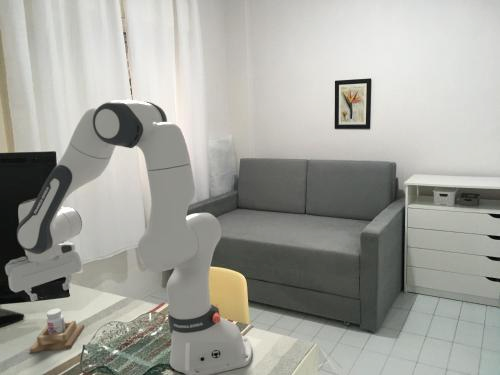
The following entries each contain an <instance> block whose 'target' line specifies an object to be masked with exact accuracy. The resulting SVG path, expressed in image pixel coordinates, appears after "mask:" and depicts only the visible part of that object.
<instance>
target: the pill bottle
mask: <svg viewBox="0 0 500 375" xmlns="http://www.w3.org/2000/svg"><path fill="white" fill-rule="evenodd" d="M46 317H47V318H46V326H48V331H49V335H52V334H62V333H64V332H65V330H66V328H65V323H64V322H65V316H64V314H63V313H62V309H61V308H58V307H57V308H52V309H49V310H48V311H46Z"/></svg>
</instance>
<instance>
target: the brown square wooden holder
mask: <svg viewBox="0 0 500 375" xmlns="http://www.w3.org/2000/svg"><path fill="white" fill-rule="evenodd" d="M64 323H65V328H66V330H65V332H64V333H62V334H52V335H49V331H48V326H47V325H46V326H45V327H44V329H42V330H41V332H40V333H39V334H38V335H37V337H36V339H37V340H36V341H35V342H34V343H33V344H32V346H31V347H30V348H29V353H36V352H44V351H45V352H47V351H54V350H63V349H71V348H72V347H73V346H74V344H75V343H76V341H77V340H78V338H79V336H80V335H81V334H82V332H83V330H84V329H85V324H77V322H76V320H69V321H64Z"/></svg>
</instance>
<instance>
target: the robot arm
mask: <svg viewBox="0 0 500 375" xmlns="http://www.w3.org/2000/svg"><path fill="white" fill-rule="evenodd" d="M116 146H118V147H123V148H126V149H127V148H129V149H133V148H134V147H137V148H139V149H140V150H141V152H142V154H143V156H144V161H145V167H146V173H147V177H148V178H147V179H148V184H149V192H150V198H151V199H150V202H151V203H150V204H151V207H150V212H149V213H150V214H149V219H148V222H147V225H146V228H145V230H144V232H143V234H142V236H141V237H140V238H139V240H138V243H137V256H138V259H139V262H140V263H141V264H142V266H143V267H144V268H146V269H147V271H148V270H149V272H152V273H160V272H161V273H162V272H165V271H169V270H173V271H172V273H171V275H170V276H169V278H168V281H167V283H166V287H165V288H166V297H167V303H168V304H167V305H168V313H167V322H168V323H167V324H168V328H169V333H170V335H171V344H170V345H171V346H170V347H171V349H170V356H169V365H170V367H171V368H172V369H174V370H175V371H178V372H179V373H181V374H182V373H183V374H184V375H214V374H215V375H216V374H218V373H223V372H226V371H231V370H232V371H233V370H236V369H239V368H244V367H247V366H248V365H249V363H250V362H251V360H252V356H253V350H252V344H251V342H250V340H249V339H248V338H247V337H246V336H245V335H242V333H241V331H240V328H239V327H238V325H237V324H236V323H234V322H233V321H230V320H228V319H226V318H223V317H222V316H221V314H220V308H218V306H219V305H218V304H217V303H216V304H215V305H213V303H211V298H210V297H211V295H210V282H209V281H210V280H209V278H210V270H211V266H212V265H211V264H212V260H213V256H214V253H215V251H216V250H215V249H216V247H217V245H218V244H219V242H220V240H221V238H222V227H221V224H220V221H219V220H218V218H217V217H215V215H213V214H211V213H210V212H199V213H198V212H197V213H191V214H188V209H189V206H190V204H191V202H192V200H193V199H194V198H195V195H196V186H195V181H194V176H193V169H192V164H191V159H190V158H191V157H190V153H189V150H188V146H187V142H186V139H185V137H184V135H183V131H182V129H181V128H180V127H179V126H178V125H177V124H174V123H172V122H168V118H167V115H166V113H165V111H164V110H163V108H161V107H160V106H159V105H157V104H155V103H153V102H150V101H138V100H134V99H133V100H132V99H126V100H125V99H123V100H111V101H107V102H104V103H102V104H100V106H98V107H93V108H90V109H88V110H87V111H85V113H84V114H83V115H82V117H81V118H80V120H79V122H78V123H77V125H76V127H75V129H74V130H73V133H72V135H71V138H70V141H69V142H68V145H67V148H66V149H65V151H64V153H63V155H62V157H61V158H60V160H59V161H58V163H57V164H56V165H55V167H54V168H53V169H52V171H51V172H50V174H49V175H48V177H47V178H46V179H45V182H44V184H43V185H42V187H41V190H40V192H39V193H38V194H37V197H36V198H32V199H27V200H26V201H23V202H21V203H20V204H19V205H18V209H17V210H18V212H17V214H18V217H17V218H18V226H17V228H16V239H17V242H18V244H19V245H20V246H21V248H22V249H23V250H24V252H25V256H20V257H18V258H15V259H11V260H9V262H8V263H6V264H5V266H4V271H5V274H6V276H7V278H8V287H9V289H10V291H12V292H14V293H19V292H21V291H24V292H25V293H27V295H29V298H30V301H31V302H32V303H33V302H36V301H38V300H39V299H38V294H37V293H32V288H33V287H37V286H40V285H43V284H45V283H46V284H47V283H49V282H52V281H55V280H57V279H58V280H59V279H60V278H66V279H65V281H64V283H62V289H63V290H64V291H67V290H70V289H71V287H70V283H71V280H72V279H73V276H72V275H73V274H76V273H79V272H81V271H82V269H83V264H82V259H81V257H80V254H79V253H78V252H77V251H76V245H75V244H74V243H72V242H70V241H69V240H71V239H73V238H75V237H77V236H78V235H80V233H81V231H82V228H83V220H82V217H81V215H80V213H79V212H78V210H76V209H75V208H73V207H71V206H63V204H64V202H65V201H66V199H67V198H68V197H69V196H70V195H71V194H72V193H73V192H75V191H76V190H78V189H79V188H81V187H83V186H85V185H87V184H88V183H90V182H92V181H94V180H96V179H98V178H99V177H100V176H101V175H102V174H103V173H104V172H105V170H106V168H107V167H108V165H109V163H110V161H111V158H112V156H113V153H114V150H115V148H116ZM187 214H188V215H187Z"/></svg>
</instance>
